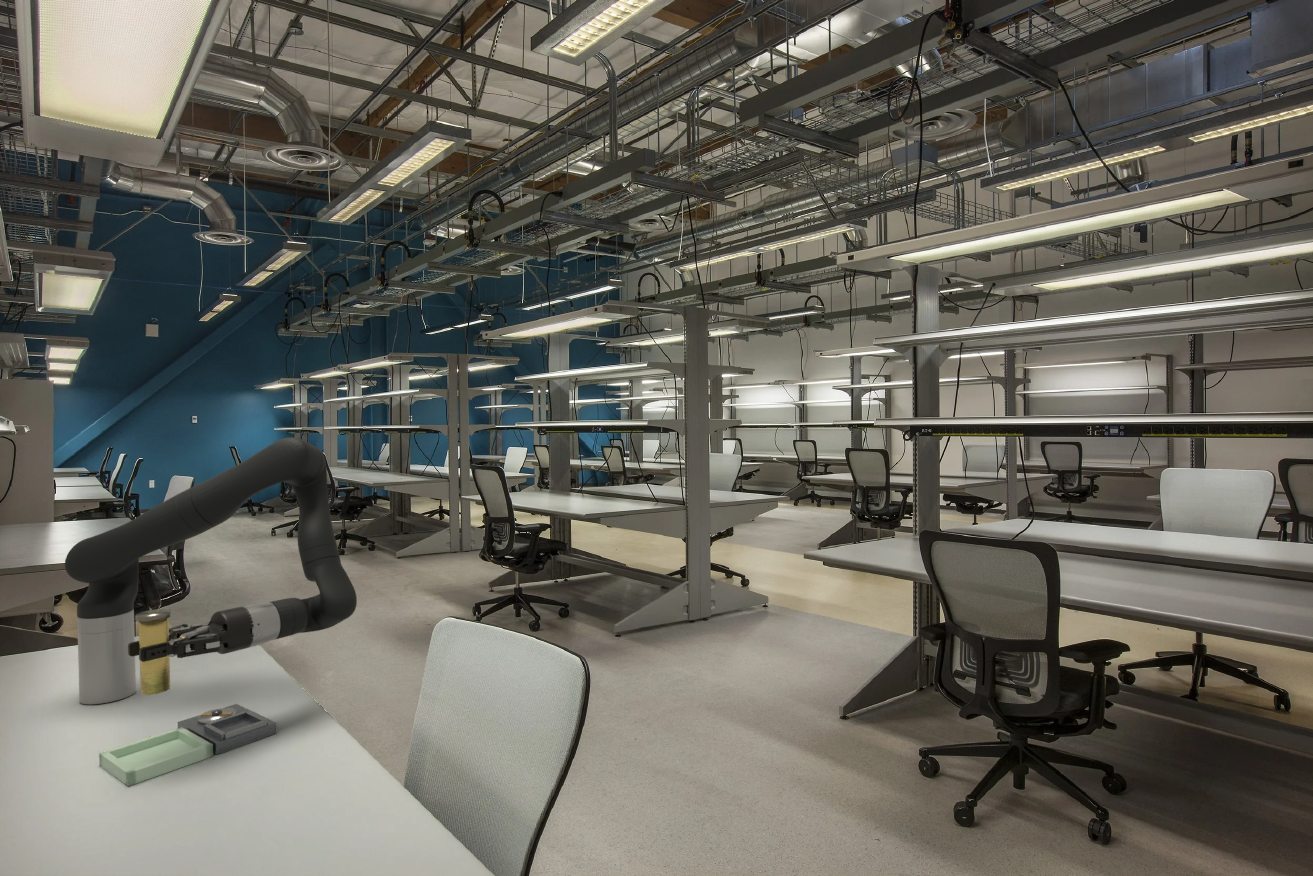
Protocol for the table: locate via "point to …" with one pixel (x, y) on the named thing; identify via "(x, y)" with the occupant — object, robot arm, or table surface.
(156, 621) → the pin
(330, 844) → the table surface
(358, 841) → the table surface
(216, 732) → the crank deck
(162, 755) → the tray
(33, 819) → the table surface
